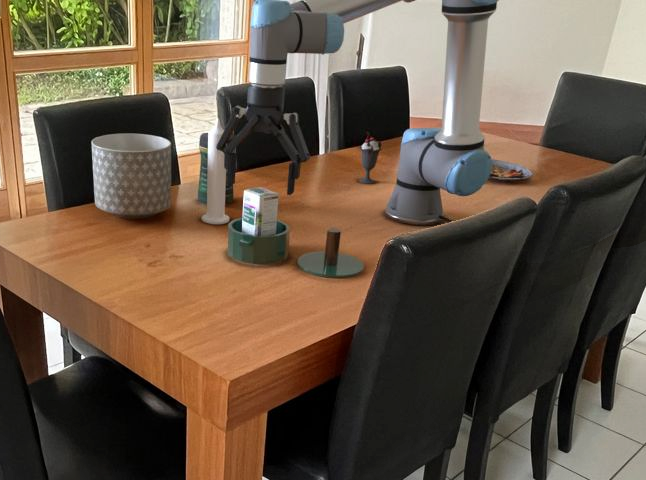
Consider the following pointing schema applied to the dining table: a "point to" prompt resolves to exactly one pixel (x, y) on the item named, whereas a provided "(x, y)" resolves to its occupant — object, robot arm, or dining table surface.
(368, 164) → the sundae
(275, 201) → the syrup box
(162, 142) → the planter
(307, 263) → the pot lid
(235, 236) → the pot
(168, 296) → the dining table surface
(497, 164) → the food plate
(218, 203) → the white syringe
